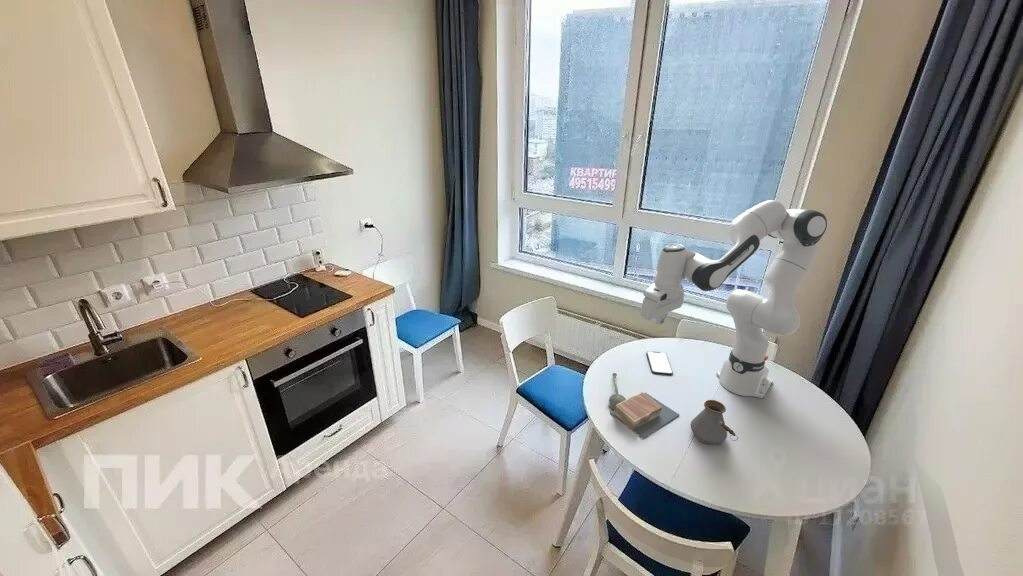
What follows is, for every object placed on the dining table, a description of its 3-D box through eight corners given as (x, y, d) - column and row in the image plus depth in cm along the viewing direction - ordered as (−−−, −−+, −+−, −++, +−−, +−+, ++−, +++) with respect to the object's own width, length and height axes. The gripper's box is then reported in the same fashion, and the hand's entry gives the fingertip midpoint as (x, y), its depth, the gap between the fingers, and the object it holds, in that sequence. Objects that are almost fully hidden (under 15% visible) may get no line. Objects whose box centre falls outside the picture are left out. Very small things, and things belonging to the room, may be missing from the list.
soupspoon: (608, 411, 150) (626, 414, 149) (609, 404, 149) (628, 406, 148) (606, 375, 170) (622, 377, 169) (607, 368, 168) (624, 370, 167)
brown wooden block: (642, 391, 152) (615, 404, 145) (662, 406, 146) (634, 421, 139) (640, 400, 154) (613, 413, 147) (659, 415, 148) (632, 430, 141)
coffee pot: (684, 422, 145) (693, 388, 139) (718, 425, 144) (728, 391, 138) (704, 471, 126) (715, 434, 120) (743, 475, 125) (756, 437, 119)
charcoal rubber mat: (645, 393, 159) (645, 392, 159) (679, 415, 148) (679, 414, 148) (609, 413, 149) (610, 412, 149) (643, 438, 138) (643, 437, 137)
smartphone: (673, 377, 171) (665, 355, 185) (673, 374, 170) (666, 352, 184) (651, 375, 172) (645, 353, 186) (651, 371, 171) (646, 350, 185)
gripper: (676, 280, 153) (669, 312, 159) (640, 292, 142) (635, 327, 148) (691, 285, 149) (683, 319, 154) (655, 299, 138) (649, 334, 143)
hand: (659, 323), depth 151 cm, fingers closed
